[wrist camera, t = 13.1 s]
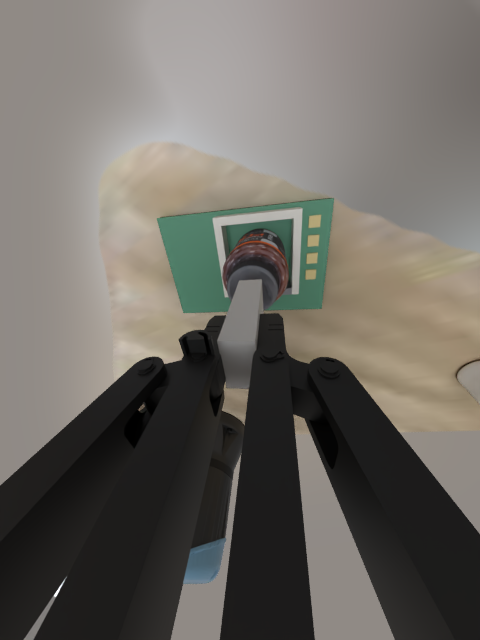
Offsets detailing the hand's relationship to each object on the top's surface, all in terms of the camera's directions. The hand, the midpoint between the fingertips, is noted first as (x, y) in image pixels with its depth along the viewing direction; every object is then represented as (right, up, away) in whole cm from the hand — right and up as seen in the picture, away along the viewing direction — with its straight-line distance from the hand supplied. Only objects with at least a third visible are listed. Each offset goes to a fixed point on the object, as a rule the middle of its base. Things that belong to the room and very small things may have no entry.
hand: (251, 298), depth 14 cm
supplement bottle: (+2, +7, +11) cm, 13 cm away
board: (0, +6, +13) cm, 14 cm away
